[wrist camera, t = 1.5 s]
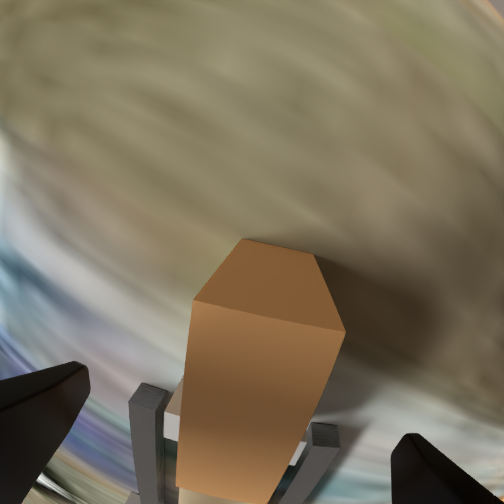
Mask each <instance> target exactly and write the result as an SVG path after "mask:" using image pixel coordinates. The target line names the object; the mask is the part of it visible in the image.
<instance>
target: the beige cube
mask: <svg viewBox="0 0 504 504" xmlns="http://www.w3.org/2000/svg"><path fill="white" fill-rule="evenodd" d="M178 504H252V503H246V502H240V501H234V500H229V499H224V498H219V497H215V496H210V495H206V494H202V493H198V492H194V491H190V490H187V489H183V488H180V487H179V502H178Z"/></svg>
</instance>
